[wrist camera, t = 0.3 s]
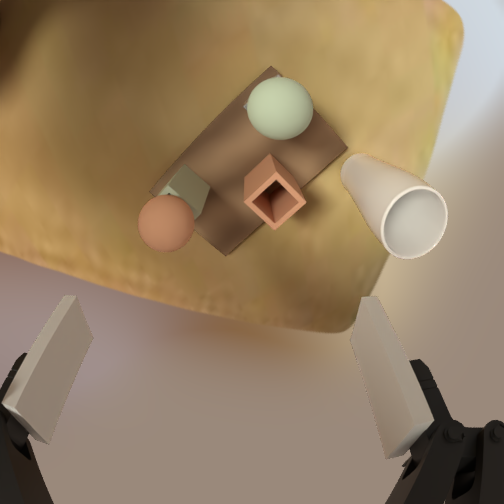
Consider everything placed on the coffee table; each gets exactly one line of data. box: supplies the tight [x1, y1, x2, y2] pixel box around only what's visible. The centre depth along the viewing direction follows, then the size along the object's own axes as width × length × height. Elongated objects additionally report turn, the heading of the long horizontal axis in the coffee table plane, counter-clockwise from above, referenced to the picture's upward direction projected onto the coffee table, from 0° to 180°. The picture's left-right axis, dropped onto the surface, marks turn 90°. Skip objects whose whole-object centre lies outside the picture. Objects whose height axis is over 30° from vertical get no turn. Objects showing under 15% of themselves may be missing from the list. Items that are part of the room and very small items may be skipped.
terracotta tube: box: [244, 154, 307, 231], centre depth 31 cm, size 4×4×8 cm
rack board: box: [149, 66, 348, 256], centre depth 35 cm, size 12×20×1 cm, turn 135°
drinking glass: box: [340, 153, 448, 259], centre depth 29 cm, size 7×7×15 cm
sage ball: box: [247, 77, 313, 140], centre depth 22 cm, size 5×5×5 cm
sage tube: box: [157, 164, 210, 220], centre depth 32 cm, size 4×4×8 cm
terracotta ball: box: [138, 195, 195, 252], centre depth 26 cm, size 5×5×5 cm
